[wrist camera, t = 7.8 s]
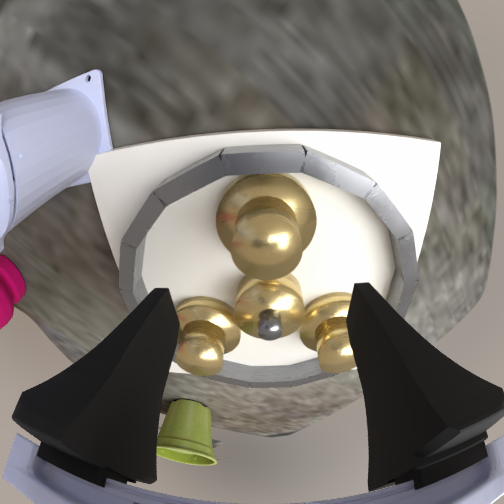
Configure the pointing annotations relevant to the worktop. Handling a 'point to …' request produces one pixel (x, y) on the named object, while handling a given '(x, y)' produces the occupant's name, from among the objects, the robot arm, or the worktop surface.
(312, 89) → the worktop surface
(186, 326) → the sun and planets
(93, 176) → the board
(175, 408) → the plant pot
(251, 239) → the gear
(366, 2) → the worktop surface
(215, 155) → the ring gear
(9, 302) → the pepper mill
